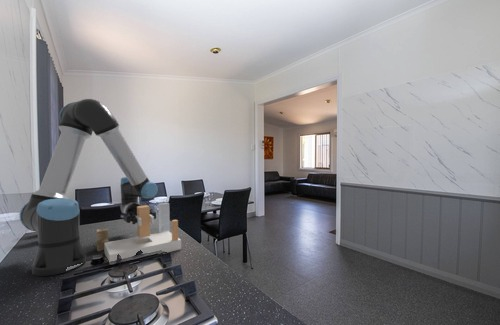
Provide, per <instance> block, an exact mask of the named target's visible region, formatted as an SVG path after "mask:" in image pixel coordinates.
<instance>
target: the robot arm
mask: <svg viewBox="0 0 500 325" xmlns="http://www.w3.org/2000/svg"><path fill="white" fill-rule="evenodd" d="M58 115H59V116H58V117H59V124H58V126H57V127H58V129H59V132H60V134H59V138H58V140H57V142H56V145H55V147H54V150H53V152H52V156H51V157H50V161H49V162H48V165H47V168H46V169H45V170H46V171H45V173H44V177H43V179H42V181H41V184H40V186H39V189H38V190H36V191H34V192H32V193H31V195H30V198H29V201H28V202H27V203H26V204H24V205H23V206H22V208H21V210H20V212H19V220H20V221H19V222H20V223H21V224H22V226H24V227H25V228H26V229H28V230H29V231H32V232H36V233H37V245H38V246H37V247H38V248H37V251H36V254H35V257H34V260H33V262H32V264H31V274H32V275H33V276H36V277H38V276H39V277H49V276H55V275H59V274H64V273H67V272H66V269H67V267H70V266H74V265H77V264H81V263H84V262H85V263H86V262H87V254H86V252H85V250H84V248H83V245H82V243H81V240H80V239H81V238H80V236H81V234H80V206H79V202H78V201H77V200H76V199H73V198H69V197H68V195H67V192H68V190H69V186H70V183H71V181H72V178H73V175H74V172H75V169H76V167H77V164H78V161H79V158H80V155H81V152H82V150H83V147H84V144H85V142H86V140H87V139H89V138H91V136H92V134H95V136H97V137H100V139H101V141H102V142H103V144H104V145H105V146H106V148H107V150H108V151H109V153H110V155H112V157H113V158H114V160H115V162H116V163H117V166H119V168H120V169H121V171H122V173H123V174H124V177H121V178H120V206H119V208H120V211H121V213H120V219H121V220H123V221H124V222H126V223H127V224H130V223H131V222H132V225H137V224H138V225H139V226H142V222H141V218H140V217H139V216H137V206H142V205H141V204H140V203H139V198H143V199H152V198H154V197H155V196H156V195H157V193H158V192H159V191H158V189H159V188H158V185H157V183H155V182H153V181H150V180H149V178H148V176H147V174H146V173H145V171H144V170H143V168H142V166H141V165H140V163H139V161H138V160H137V158H136V156H135V155H134V153H133V151H132V150H131V148H130V146H129V145H128V143H127V141H126V140H125V137H124V136H123V134H122V133H121V131H120V129H119V127H120V124H119V122H118V121H117V119H116V118H115V116H114V114H113V113H112V112H111V111H110V110H109V108H108V107H107V106H106V105H105V104H104V103H102V102H100V101H99V100H96V99H93V98H85V99H81V100H77V101H74V102H70V103H67V104H66V105H65V106H63V107H62V108H61V110H60V111H59V114H58ZM156 219H157V212H156V211H154V209H153V208H150V224H155V220H156ZM85 263H84V264H85Z"/></svg>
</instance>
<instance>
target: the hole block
mask: <svg viewBox="0 0 500 325" xmlns="http://www.w3.org/2000/svg"><path fill="white" fill-rule="evenodd" d="M170 222H171V231H170V232H169V231H165V232H160V233H159V232H155V233H150V236H147V237H142V238H140V237H139V236H138V235H137V236H134V237H128V238H123V239H117V240H113V241H109V242H106V243H104V250H103V251H104V255H105V258H106V257H107V258H108V259H109V261H113V260H116V259H117V255H118V254H119V255H120V256H121V258H127V257H131V256H134V255H136V253H137V252H138V251H140V250H141V251H142V252H143V253H147V252H154V251H158V250H162V251H165V252H167V253H170V252H171V253H172V252H174V251H179V250H182V239H181V238H179V220H178V219H172V220H171V219H170ZM107 258H106V259H107Z"/></svg>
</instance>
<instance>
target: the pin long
mask: <svg viewBox="0 0 500 325" xmlns="http://www.w3.org/2000/svg"><path fill="white" fill-rule="evenodd" d="M170 213H171V212H170V203H169V202H159V203H158V233H160V232H165V231H169V232H171V225H170V224H171V219H170Z"/></svg>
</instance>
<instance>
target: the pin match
mask: <svg viewBox="0 0 500 325" xmlns="http://www.w3.org/2000/svg"><path fill="white" fill-rule="evenodd" d="M150 209H151V208H150V206H149V205H148V204H146V205H141V206H137V216H139V217H140V218H141V222H142V226H139V225H138V224H137V223H136V226H137V237H138V236H139V237H140V238H142V237H147V236H150V234H151V223H150Z"/></svg>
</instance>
